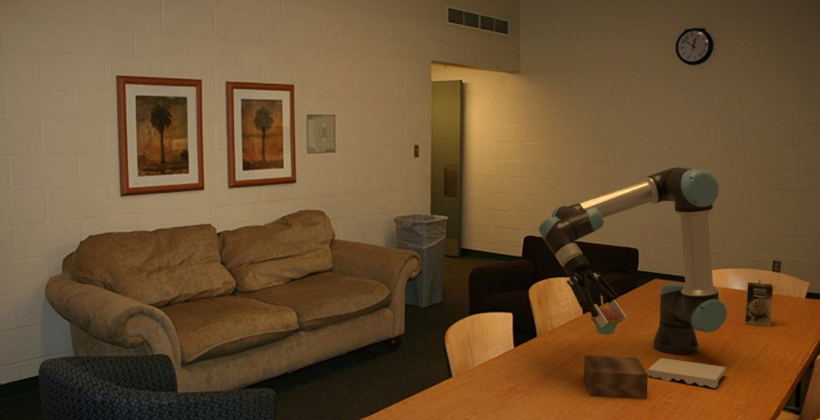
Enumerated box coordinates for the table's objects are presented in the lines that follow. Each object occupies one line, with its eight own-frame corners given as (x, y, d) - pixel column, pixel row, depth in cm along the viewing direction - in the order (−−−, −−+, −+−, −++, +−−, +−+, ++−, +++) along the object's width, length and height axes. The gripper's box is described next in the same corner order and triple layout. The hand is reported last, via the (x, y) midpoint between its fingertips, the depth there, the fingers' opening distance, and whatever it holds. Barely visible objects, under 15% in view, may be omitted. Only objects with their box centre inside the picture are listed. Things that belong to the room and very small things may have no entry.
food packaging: (647, 379, 235) (715, 390, 224) (647, 369, 235) (715, 379, 224) (660, 367, 247) (725, 377, 236) (661, 357, 247) (725, 367, 236)
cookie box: (745, 324, 299) (747, 284, 298) (744, 320, 305) (747, 281, 304) (770, 327, 296) (773, 286, 294) (769, 323, 302) (772, 283, 300)
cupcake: (603, 337, 219) (605, 297, 217) (584, 330, 226) (585, 291, 225) (626, 334, 223) (627, 294, 221) (606, 327, 230) (607, 288, 229)
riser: (636, 379, 232) (637, 357, 232) (646, 398, 216) (647, 374, 216) (583, 377, 234) (584, 355, 233) (590, 395, 218) (591, 371, 217)
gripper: (587, 264, 241) (628, 323, 230) (543, 272, 228) (583, 335, 217) (601, 250, 236) (643, 310, 225) (556, 257, 223) (599, 321, 212)
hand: (614, 322), depth 221 cm, fingers closed on cupcake, 8 cm apart
